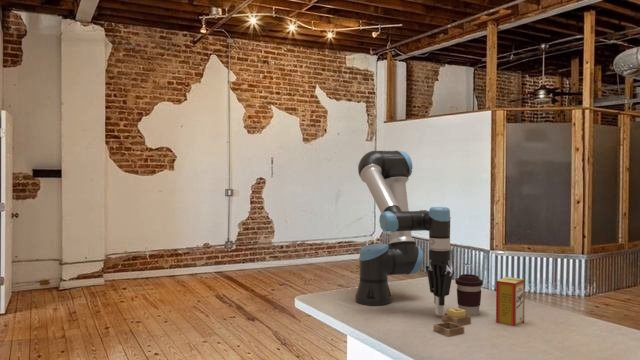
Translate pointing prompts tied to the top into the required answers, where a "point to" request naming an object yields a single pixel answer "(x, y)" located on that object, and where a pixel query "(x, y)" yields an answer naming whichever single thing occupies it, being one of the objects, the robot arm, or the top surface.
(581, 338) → the top surface
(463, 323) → the box
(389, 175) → the robot arm
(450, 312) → the letter cube
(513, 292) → the baking soda box
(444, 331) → the box
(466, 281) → the coffee cup
